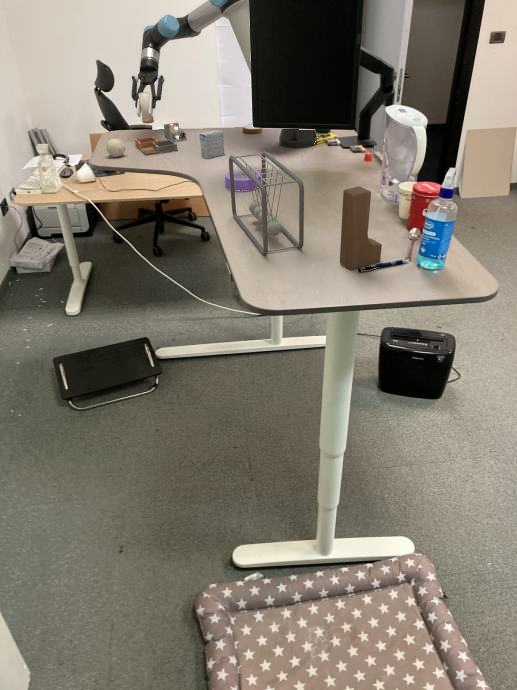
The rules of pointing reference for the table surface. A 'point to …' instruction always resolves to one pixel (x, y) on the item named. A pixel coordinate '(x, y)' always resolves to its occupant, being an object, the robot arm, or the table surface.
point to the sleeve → (145, 107)
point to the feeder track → (170, 136)
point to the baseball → (115, 147)
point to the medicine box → (212, 144)
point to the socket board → (155, 145)
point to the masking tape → (241, 180)
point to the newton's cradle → (261, 208)
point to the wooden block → (357, 230)
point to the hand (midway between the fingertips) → (144, 115)
